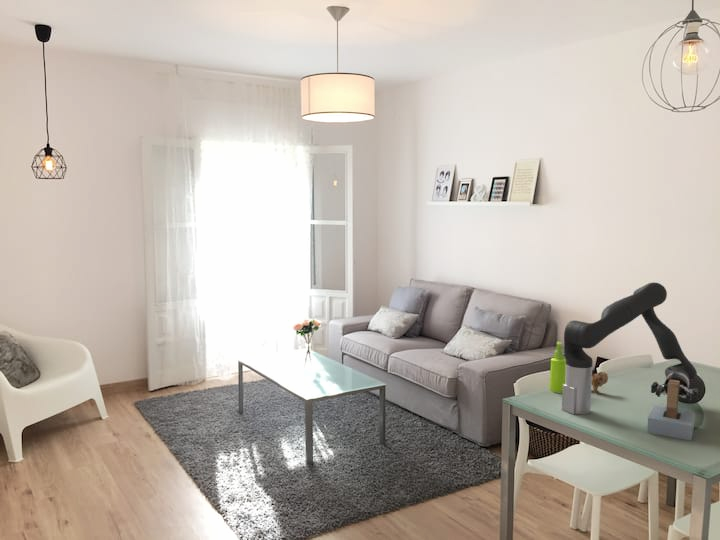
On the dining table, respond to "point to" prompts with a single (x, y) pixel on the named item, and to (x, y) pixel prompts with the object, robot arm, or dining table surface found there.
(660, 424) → the grey slotted block
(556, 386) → the green bottle
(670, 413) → the slat
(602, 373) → the lion figurine
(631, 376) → the dining table surface
